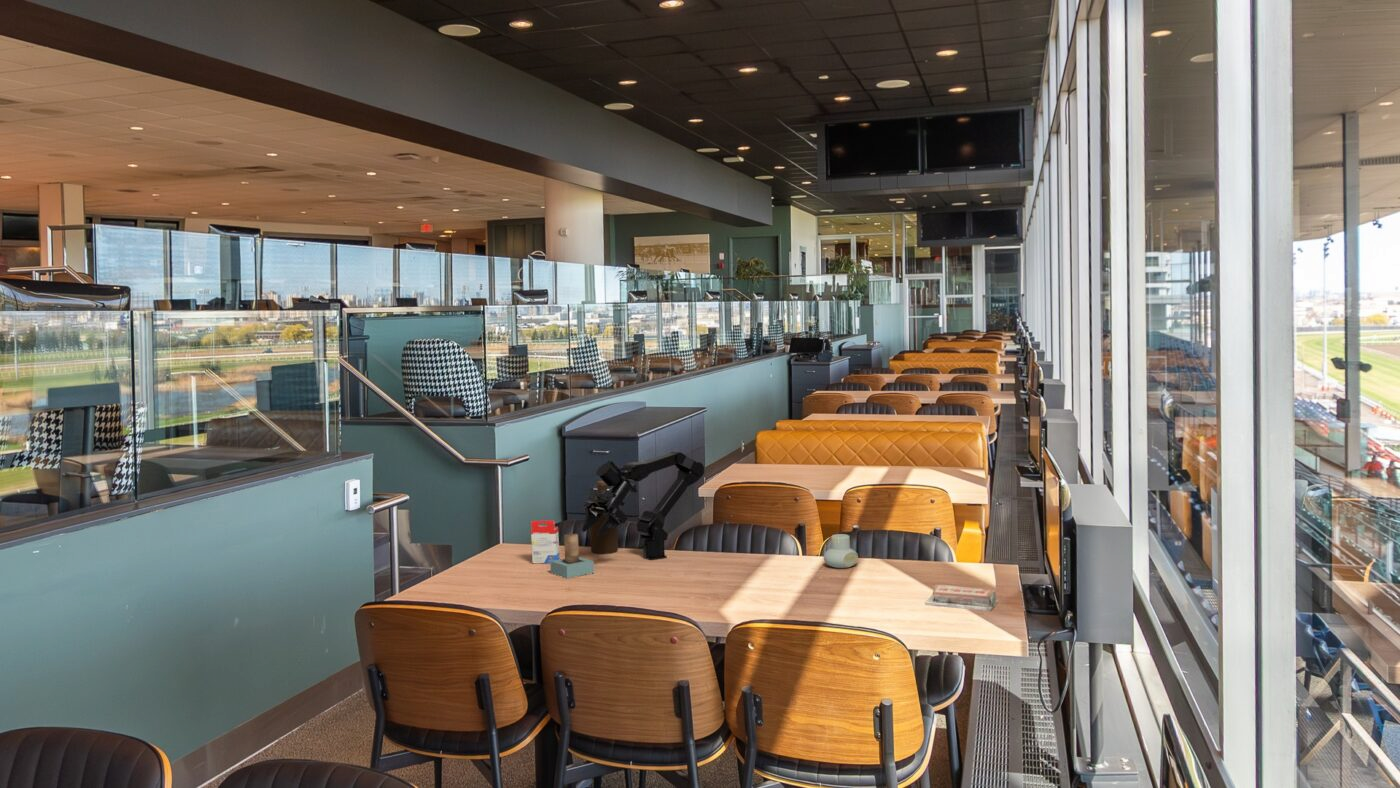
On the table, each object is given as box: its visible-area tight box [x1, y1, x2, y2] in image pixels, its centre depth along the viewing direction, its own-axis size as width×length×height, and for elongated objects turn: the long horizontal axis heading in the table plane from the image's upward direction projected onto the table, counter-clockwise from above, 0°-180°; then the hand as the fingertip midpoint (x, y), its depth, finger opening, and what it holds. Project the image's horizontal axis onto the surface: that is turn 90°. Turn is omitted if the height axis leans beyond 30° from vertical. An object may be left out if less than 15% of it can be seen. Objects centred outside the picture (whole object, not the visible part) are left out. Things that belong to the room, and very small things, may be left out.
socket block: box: [550, 556, 595, 579], centre depth 343 cm, size 10×10×4 cm
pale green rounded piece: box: [823, 533, 859, 569], centre depth 342 cm, size 11×8×10 cm
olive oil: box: [589, 479, 619, 555], centre depth 375 cm, size 11×11×25 cm
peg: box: [563, 533, 580, 564], centre depth 342 cm, size 4×4×12 cm
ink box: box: [530, 520, 561, 564], centre depth 360 cm, size 8×5×15 cm, turn 84°
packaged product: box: [924, 584, 999, 612], centre depth 293 cm, size 18×5×10 cm
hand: (590, 533), depth 347 cm, fingers open, 9 cm apart
